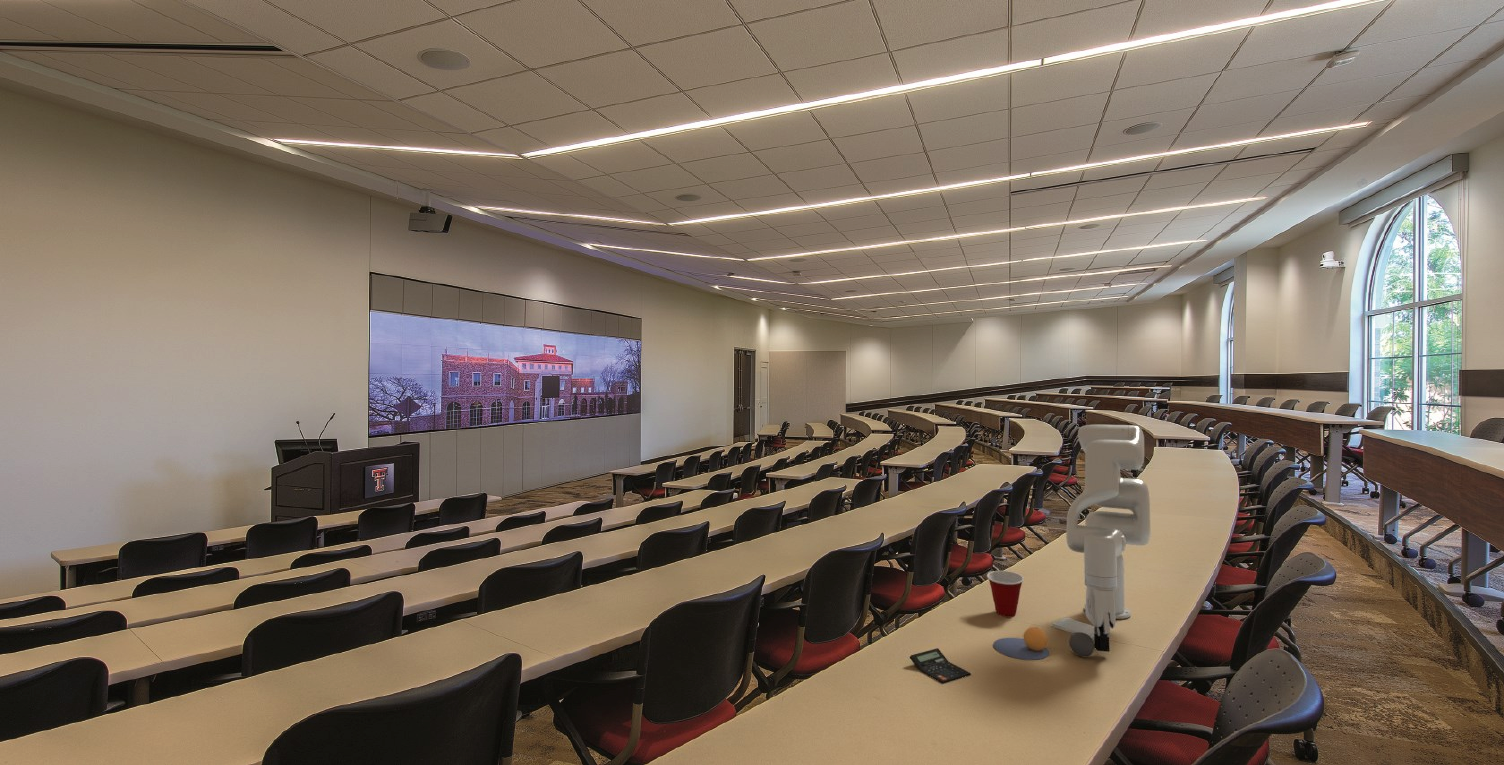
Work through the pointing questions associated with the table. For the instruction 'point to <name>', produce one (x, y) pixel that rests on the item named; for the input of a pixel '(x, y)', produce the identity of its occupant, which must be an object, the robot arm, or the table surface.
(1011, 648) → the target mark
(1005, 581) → the plastic cup
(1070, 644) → the gray ball
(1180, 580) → the table surface
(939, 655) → the calculator
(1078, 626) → the hard drive
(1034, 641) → the object ball
